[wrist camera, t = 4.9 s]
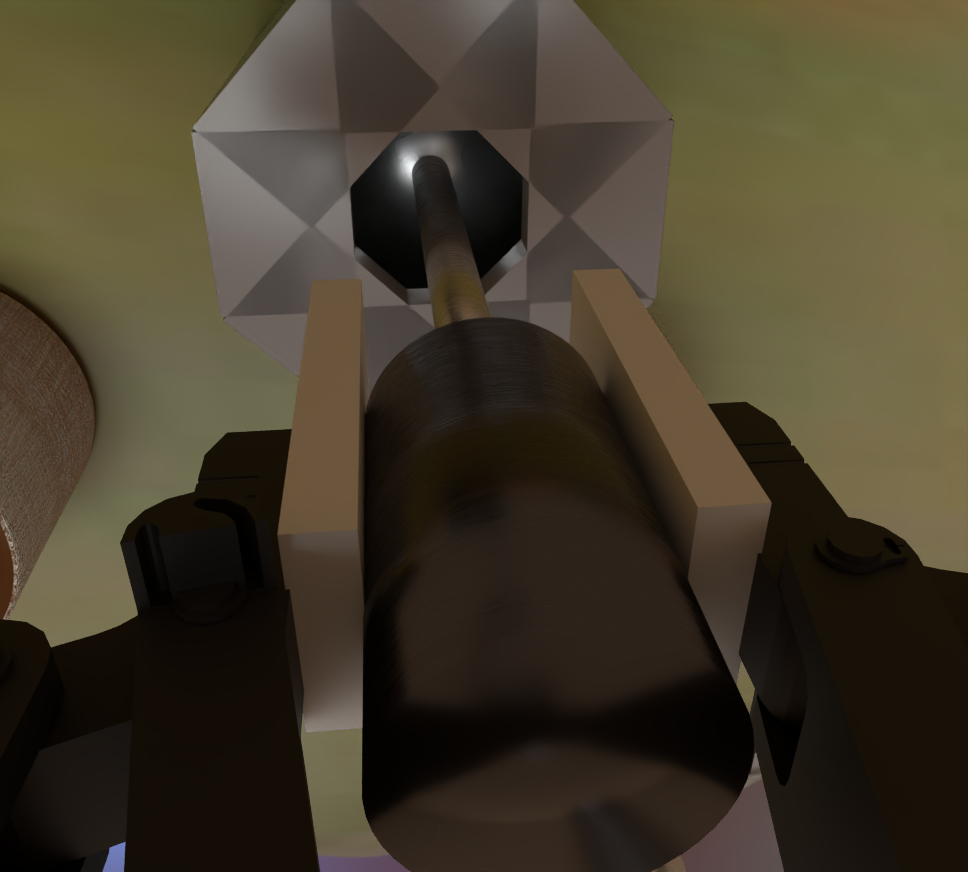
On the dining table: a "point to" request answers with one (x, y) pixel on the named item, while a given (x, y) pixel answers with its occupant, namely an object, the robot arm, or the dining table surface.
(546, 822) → the dark brown cylinder-topped rod
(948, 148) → the dining table surface
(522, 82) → the pot teal
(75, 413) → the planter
